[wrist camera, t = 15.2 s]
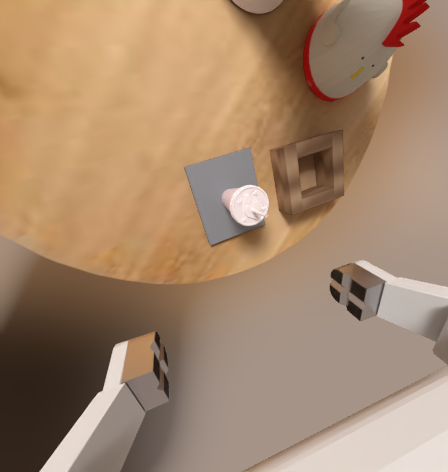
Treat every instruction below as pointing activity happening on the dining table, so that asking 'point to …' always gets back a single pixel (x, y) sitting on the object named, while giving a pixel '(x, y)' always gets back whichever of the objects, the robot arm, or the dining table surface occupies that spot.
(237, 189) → the smoothie
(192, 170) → the rubber mat
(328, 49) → the kitchen timer
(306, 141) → the holder collar
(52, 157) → the dining table surface
